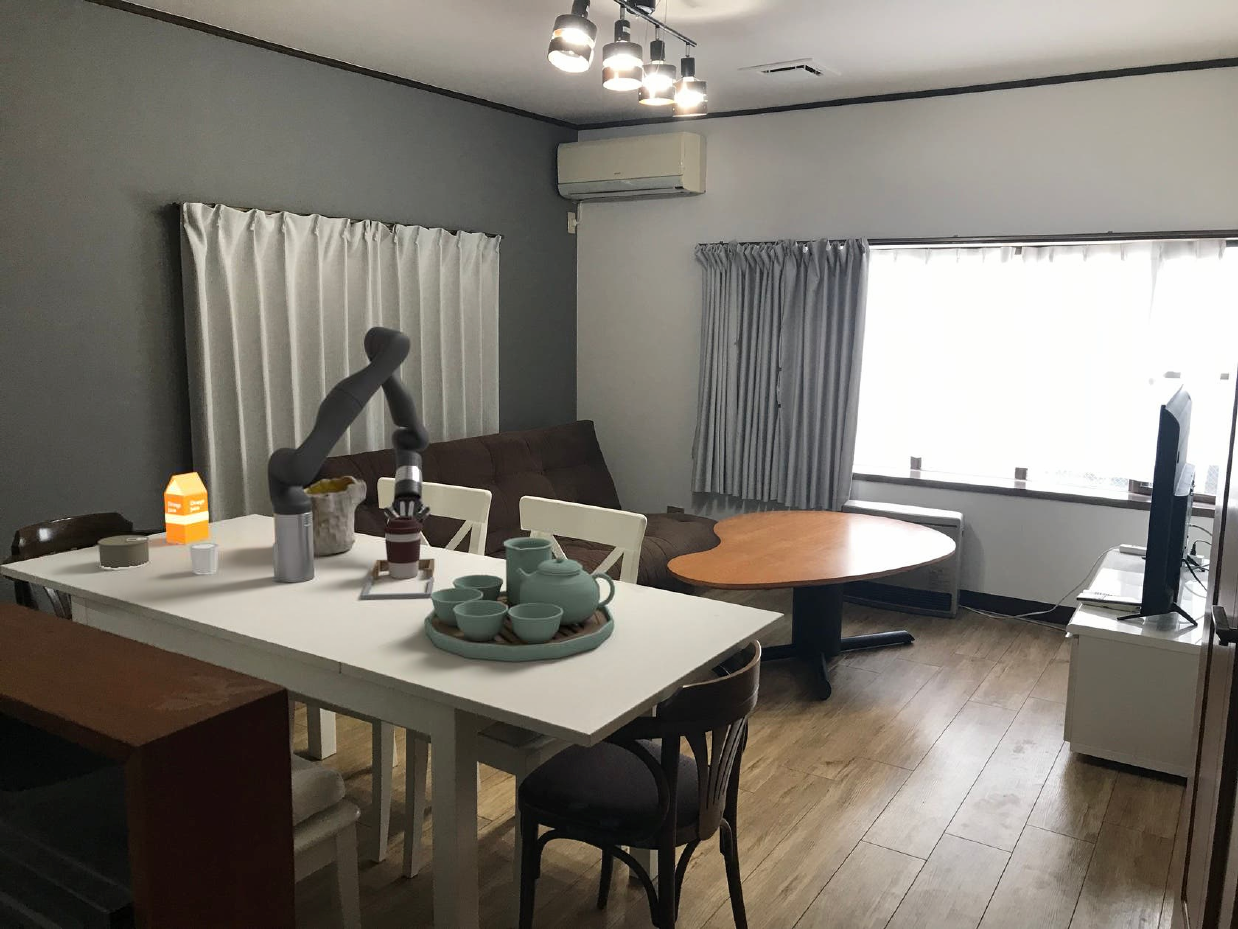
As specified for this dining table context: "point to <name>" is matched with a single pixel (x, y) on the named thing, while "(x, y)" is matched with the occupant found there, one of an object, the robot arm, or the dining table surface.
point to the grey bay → (396, 595)
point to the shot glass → (204, 558)
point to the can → (124, 551)
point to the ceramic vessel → (334, 513)
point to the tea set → (523, 608)
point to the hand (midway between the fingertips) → (406, 538)
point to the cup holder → (421, 565)
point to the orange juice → (186, 509)
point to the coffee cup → (403, 546)
